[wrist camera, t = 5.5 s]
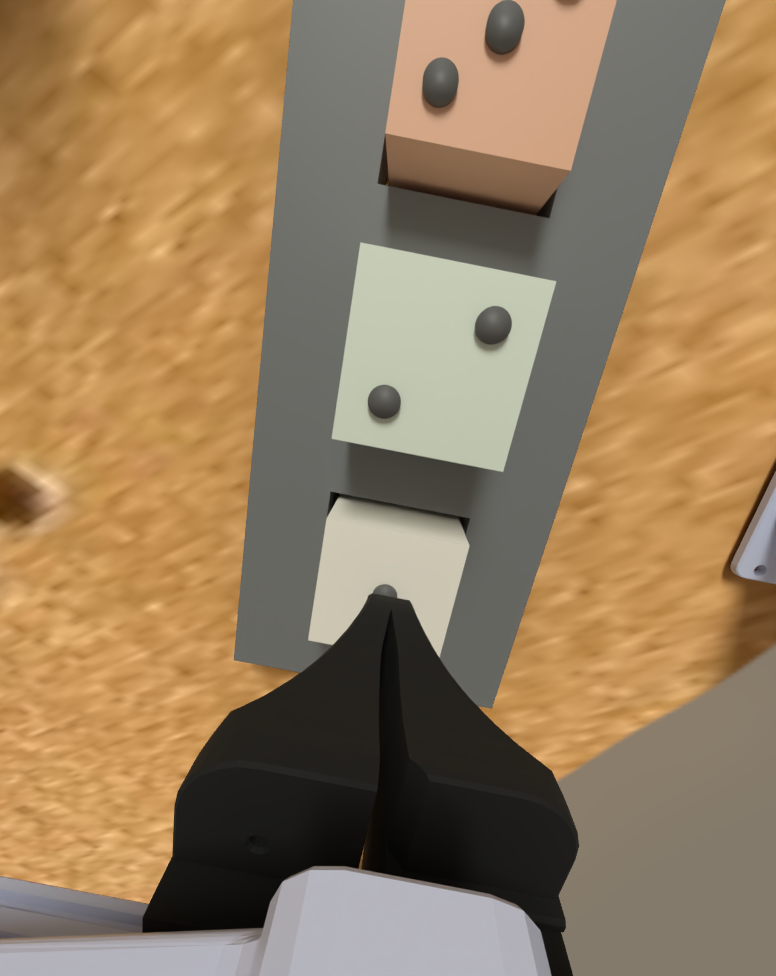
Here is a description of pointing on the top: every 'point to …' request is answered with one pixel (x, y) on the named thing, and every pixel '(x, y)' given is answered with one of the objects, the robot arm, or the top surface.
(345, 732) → the robot arm
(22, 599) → the top surface
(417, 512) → the key one
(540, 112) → the key three
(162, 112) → the top surface
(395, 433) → the key two
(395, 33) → the keypad board
